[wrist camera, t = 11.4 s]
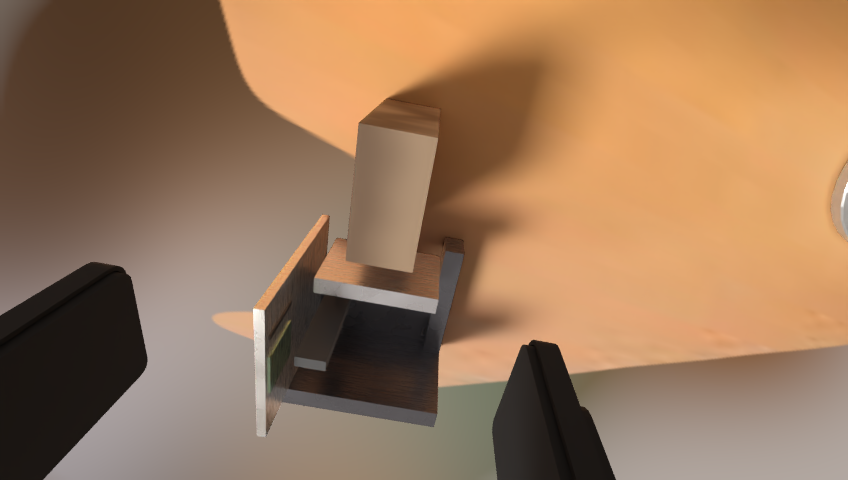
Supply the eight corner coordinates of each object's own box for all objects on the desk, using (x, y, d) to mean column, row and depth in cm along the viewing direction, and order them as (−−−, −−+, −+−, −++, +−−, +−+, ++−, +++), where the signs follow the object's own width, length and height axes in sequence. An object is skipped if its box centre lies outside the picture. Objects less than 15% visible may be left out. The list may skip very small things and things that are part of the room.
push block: (440, 108, 28) (438, 138, 19) (421, 209, 32) (412, 273, 23) (386, 98, 28) (358, 122, 19) (373, 200, 32) (345, 260, 23)
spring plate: (439, 256, 31) (438, 299, 26) (433, 283, 32) (431, 330, 27) (337, 237, 31) (314, 277, 26) (334, 266, 32) (312, 310, 27)
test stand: (463, 240, 33) (472, 346, 21) (436, 346, 38) (431, 478, 27) (322, 214, 32) (253, 308, 21) (315, 326, 38) (257, 450, 26)
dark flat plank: (358, 277, 33) (326, 362, 24) (357, 284, 34) (325, 371, 25) (335, 272, 33) (294, 356, 24) (334, 280, 33) (294, 365, 25)
